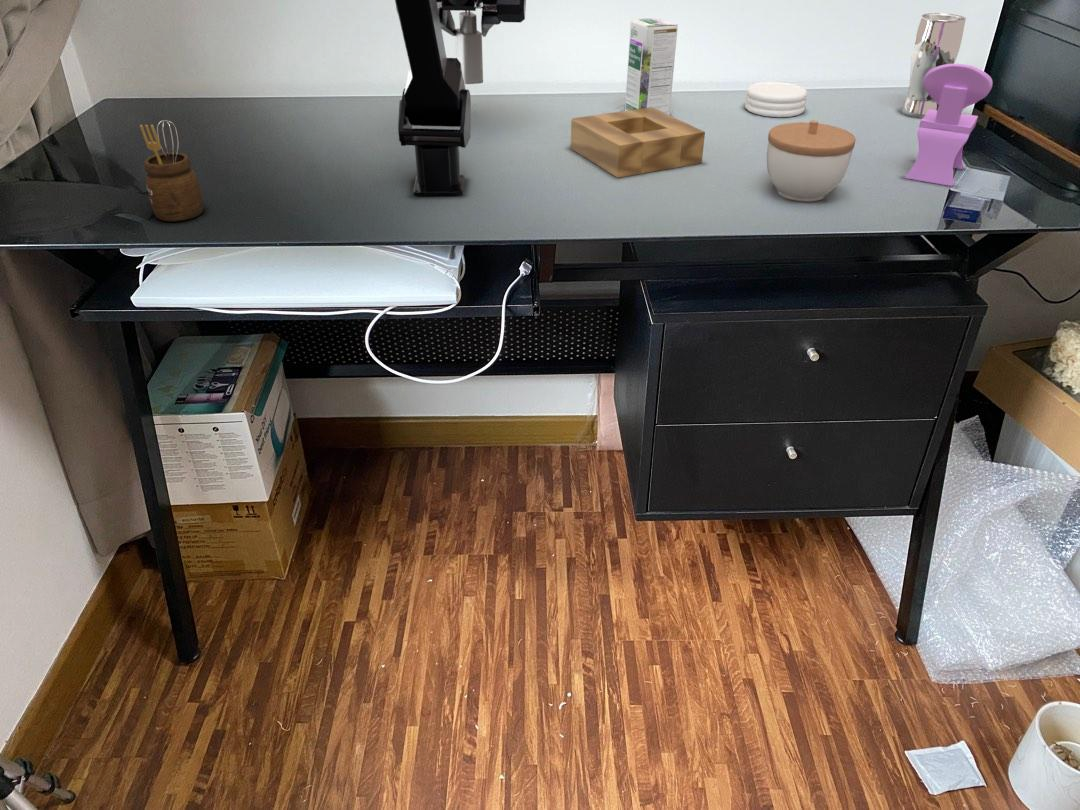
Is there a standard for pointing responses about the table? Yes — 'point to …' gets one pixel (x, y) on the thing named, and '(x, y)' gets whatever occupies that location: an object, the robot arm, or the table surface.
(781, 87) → the white layered disc
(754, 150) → the table surface
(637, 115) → the block
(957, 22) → the silver tumbler
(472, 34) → the power adapter
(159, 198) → the utensil holder
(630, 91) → the syrup box
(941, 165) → the chair
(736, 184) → the table surface
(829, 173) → the trinket box
